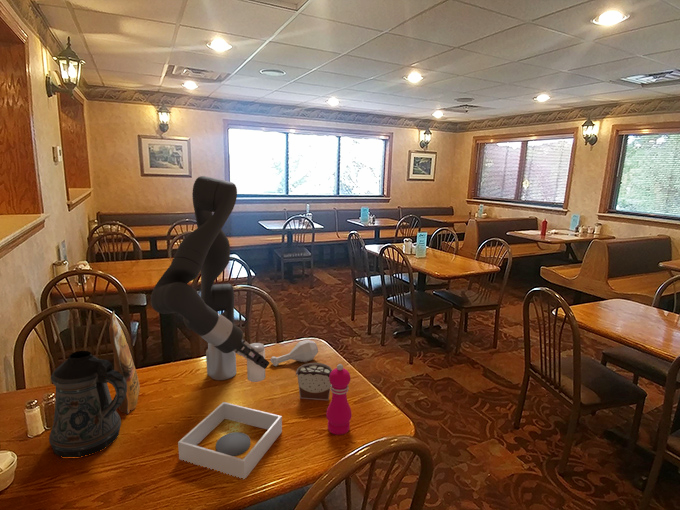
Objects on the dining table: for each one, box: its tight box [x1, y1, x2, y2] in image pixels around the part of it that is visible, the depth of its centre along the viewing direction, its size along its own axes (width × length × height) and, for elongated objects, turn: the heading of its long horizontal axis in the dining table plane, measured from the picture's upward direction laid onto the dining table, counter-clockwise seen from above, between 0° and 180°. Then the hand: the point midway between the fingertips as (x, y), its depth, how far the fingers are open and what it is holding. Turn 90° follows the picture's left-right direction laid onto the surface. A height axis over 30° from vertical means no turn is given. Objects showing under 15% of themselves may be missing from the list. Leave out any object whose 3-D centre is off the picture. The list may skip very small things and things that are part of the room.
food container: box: [295, 362, 333, 401], centre depth 134 cm, size 12×6×10 cm, turn 84°
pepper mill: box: [325, 363, 352, 436], centre depth 116 cm, size 7×7×20 cm
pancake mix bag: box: [108, 310, 141, 414], centre depth 126 cm, size 7×19×28 cm, turn 20°
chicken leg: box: [269, 338, 319, 367], centre depth 156 cm, size 8×18×8 cm, turn 111°
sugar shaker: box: [246, 342, 266, 383], centre depth 115 cm, size 5×5×10 cm
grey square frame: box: [177, 401, 283, 480], centre depth 109 cm, size 19×19×5 cm
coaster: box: [215, 431, 251, 457], centre depth 110 cm, size 9×9×1 cm
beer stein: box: [48, 350, 127, 457], centre depth 109 cm, size 16×19×25 cm
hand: (261, 362), depth 117 cm, fingers closed on sugar shaker, 5 cm apart
